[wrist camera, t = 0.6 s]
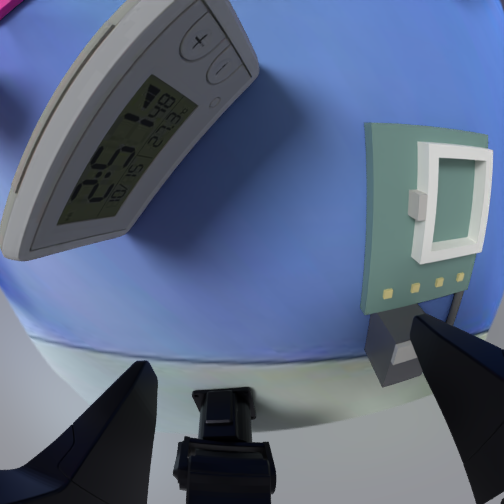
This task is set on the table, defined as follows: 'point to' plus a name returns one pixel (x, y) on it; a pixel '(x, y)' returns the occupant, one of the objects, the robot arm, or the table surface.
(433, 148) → the header board
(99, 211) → the digital clock
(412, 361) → the plug
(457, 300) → the lead
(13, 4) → the file sorter
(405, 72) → the table surface
